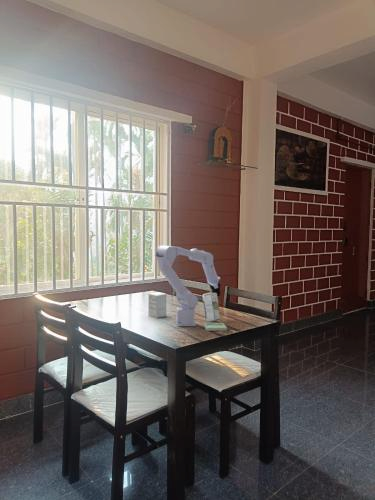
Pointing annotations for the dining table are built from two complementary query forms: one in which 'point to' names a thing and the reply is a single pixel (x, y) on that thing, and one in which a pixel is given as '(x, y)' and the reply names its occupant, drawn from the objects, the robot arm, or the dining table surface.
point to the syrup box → (211, 307)
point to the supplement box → (157, 304)
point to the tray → (215, 326)
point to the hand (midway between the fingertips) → (217, 294)
